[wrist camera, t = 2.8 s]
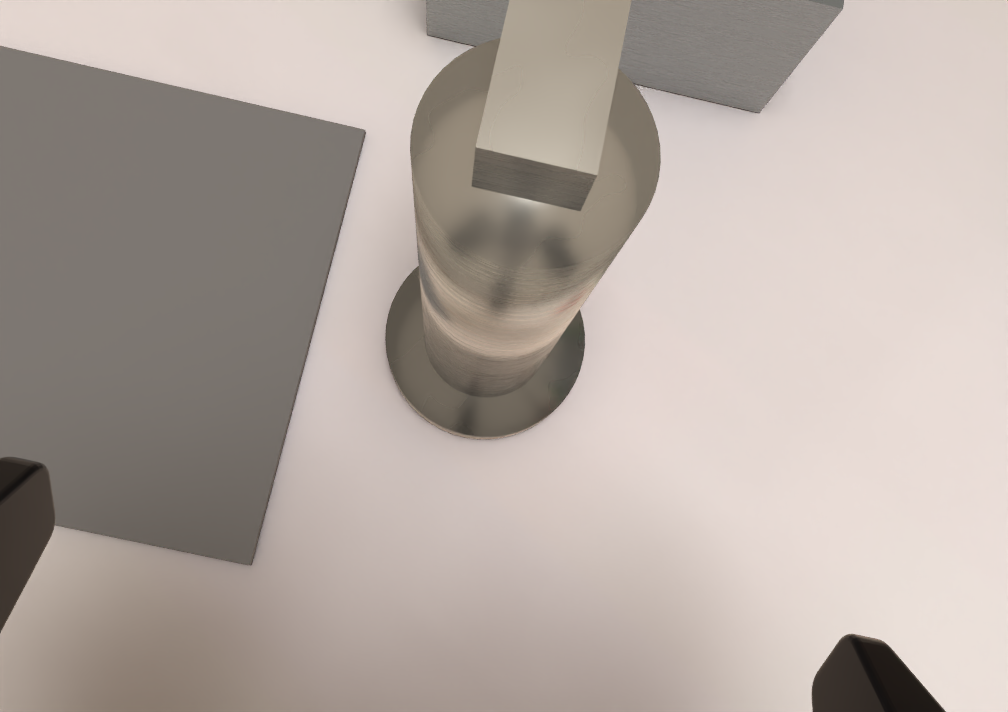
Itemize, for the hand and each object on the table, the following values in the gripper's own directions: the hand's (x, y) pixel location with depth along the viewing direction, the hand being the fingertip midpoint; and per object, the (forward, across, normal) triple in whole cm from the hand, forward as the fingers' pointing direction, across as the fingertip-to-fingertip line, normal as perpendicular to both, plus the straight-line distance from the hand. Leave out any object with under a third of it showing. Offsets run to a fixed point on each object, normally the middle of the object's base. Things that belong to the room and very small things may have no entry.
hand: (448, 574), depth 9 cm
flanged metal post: (+12, 0, +5) cm, 13 cm away
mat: (+12, +10, +5) cm, 17 cm away
